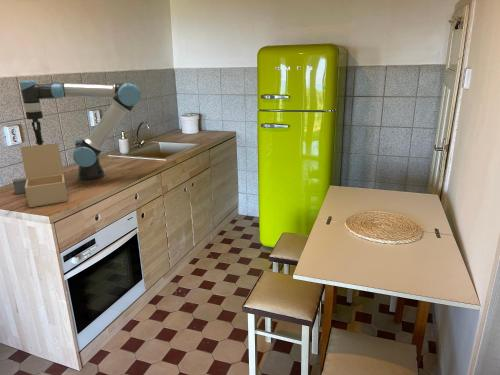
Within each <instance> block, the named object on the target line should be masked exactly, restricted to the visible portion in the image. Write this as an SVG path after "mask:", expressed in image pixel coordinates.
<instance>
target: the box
mask: <svg viewBox="0 0 500 375" xmlns="http://www.w3.org/2000/svg"><path fill="white" fill-rule="evenodd" d="M64 174H65V173H64ZM64 174H59V175H52V176H45V177H37V178H31V179H27V180H26V185H25V191H26V193H25V195H26V198H27V203H28V204H27V205H28V206H29V207H28V208H35V207H40V206H41V207H42V206H47V205H53V204H59V203H65V202H66V203H67V202H69V198H68V191H67V186H66V185H67V184H66V180H65V175H64Z"/></svg>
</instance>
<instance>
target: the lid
mask: <svg viewBox="0 0 500 375" xmlns="http://www.w3.org/2000/svg"><path fill="white" fill-rule="evenodd" d="M19 148H20V153H21V158H22V164H23V170H24V174H25V175H24V176H25V178H26V179H30V178H39V177H46V176H53V175H61V174H65V172H64V167H63V163H62V157H61V151H60V146H59V143H57V142H56V143H47V144H43V145H37V144H36V145H25V146H20V147H19Z"/></svg>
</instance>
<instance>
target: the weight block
mask: <svg viewBox="0 0 500 375" xmlns="http://www.w3.org/2000/svg"><path fill="white" fill-rule="evenodd" d="M30 179H31V178H30ZM26 180H27V179H26V177H21V178H16V179H15V178H14V179H13V180H12V185H13V189H14V193H15V195H20V194H26V191H25V185H26Z"/></svg>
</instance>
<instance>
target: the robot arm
mask: <svg viewBox="0 0 500 375" xmlns="http://www.w3.org/2000/svg"><path fill="white" fill-rule="evenodd" d="M19 86H20V93H21V97H22V102H23V105H22V107H23V108H24V110H25V116H26V120H32V122H31V127H32V130H33V132H34V135H35V141H36V142H35V144H36V145H44V143H45V141H44V140H43V136H42V126H41V125H42V124H41V121H39V120H40V119H43V118H44V116H43V111H42V104H41V101H40V100H49V99H51V100H52V99H54V100H55V99H63V98H81V99H82V98H84V99H85V98H86V99H87V98H89V99H91V98H92V99H112V100H111V101H112V103H111V105H110V106H109V108H108V109H107V110H106V112H105V113H104V115H103V116H102V117H101V119H100V120H99V121H98V123H97V124H96V126H95V127H94V129H93V130H92V131H91V132H90V134H89V136H88V137H84V138H82V139H77V140H75V141H74V146H75V150H74V151H73V154H72V158H73V159H72V160H74V163H75V164H76V165H78V169H77V180H81V181H91V180H97V179H100V178H103V177H104V176H105V175H106V174H105V170H104V169H103V166H102V165H101V162H100V157H99V156H100V154H101V153H102V151H103V146H104V144H105V143H106V141H107V140H108V138H109V137H110V136H111V135H112V133H113V132H114V130H116V127H117V126H118V125H119V123H120V122H121V120H122V119H123V118H124V116H125V115H126V113H131V111H132V110H133V109H134V108H135V107H136V106H137V104H138V103H140V100H141V97H142V93H141V89H140V88H139V86H137V85H136V84H134V83H132V82H123V83H120V82H119V83H113V84H94V83H91V84H90V83H71V82H70V83H69V82H68V83H66V82H65V83H64V82H50V83H43V84H41V83H40V84H39V83H37V81H36V80H33V79H32V80H22V81H19Z"/></svg>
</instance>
